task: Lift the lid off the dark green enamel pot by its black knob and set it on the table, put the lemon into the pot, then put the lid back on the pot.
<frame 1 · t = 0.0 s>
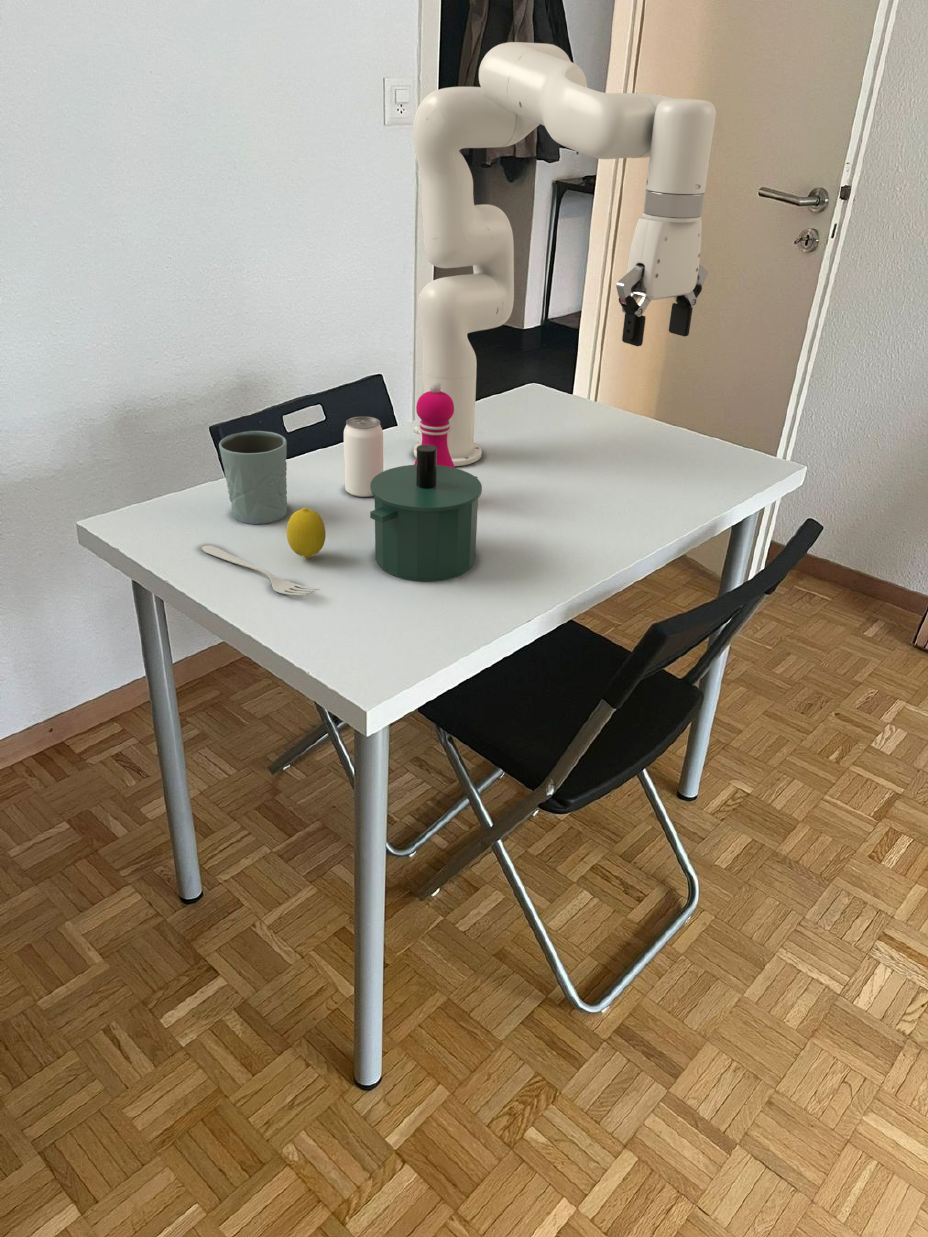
hand: (655, 338, 135), 31 cm above the table, tool pointing down, fingers open, 9 cm apart
pepper mill: (433, 501, 163), on the table
grey-green cup: (258, 514, 156), on the table
pot: (425, 558, 144), on the table
fork: (256, 574, 138), on the table
can: (364, 491, 165), on the table
lid: (426, 488, 139), point 11 cm above the table, touching pot
lemon: (307, 559, 143), on the table
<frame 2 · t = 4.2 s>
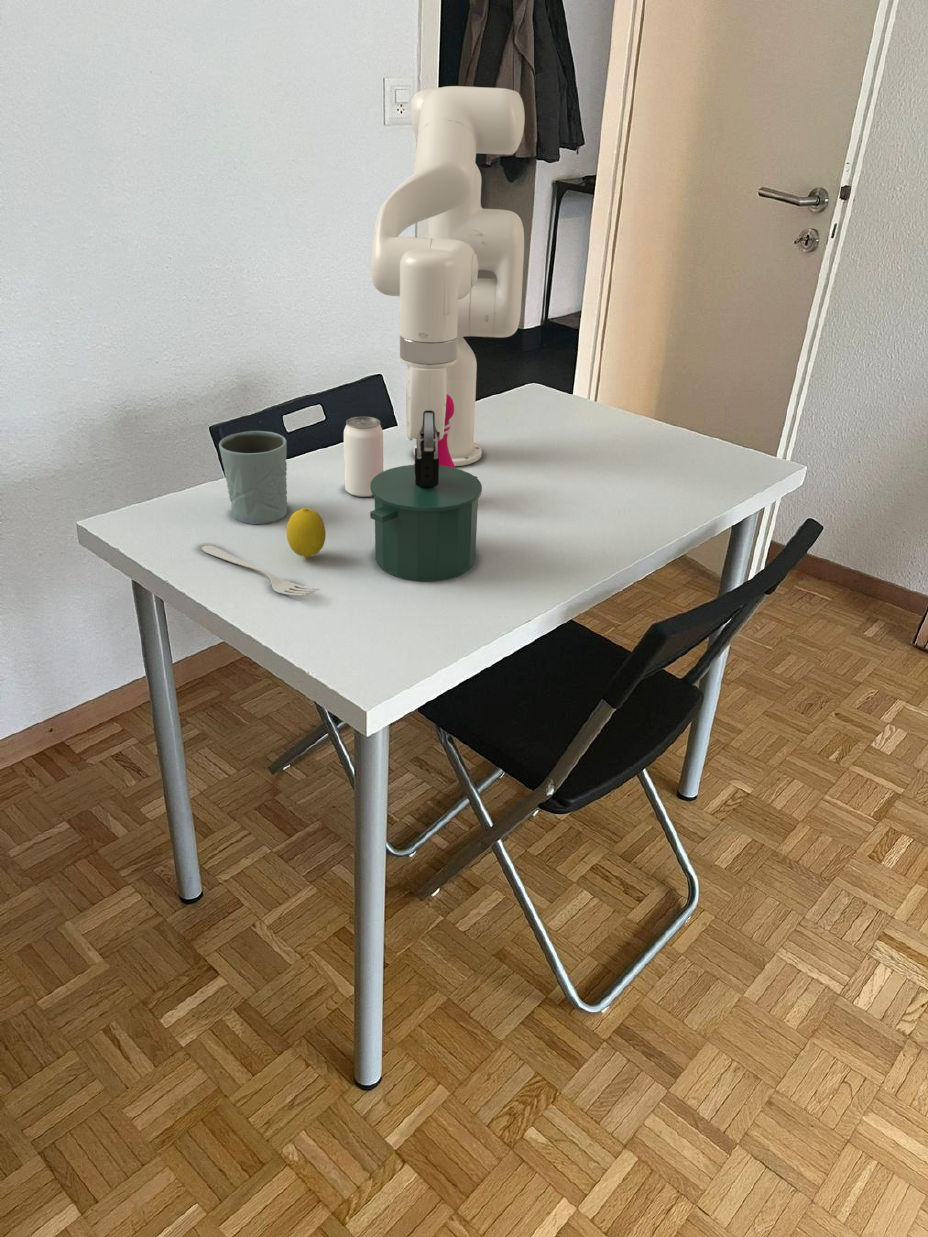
hand: (426, 478, 138), 13 cm above the table, tool pointing down, fingers closed on lid, 2 cm apart
lid: (426, 488, 139), point 11 cm above the table, touching gripper, pot
everything else where it was.
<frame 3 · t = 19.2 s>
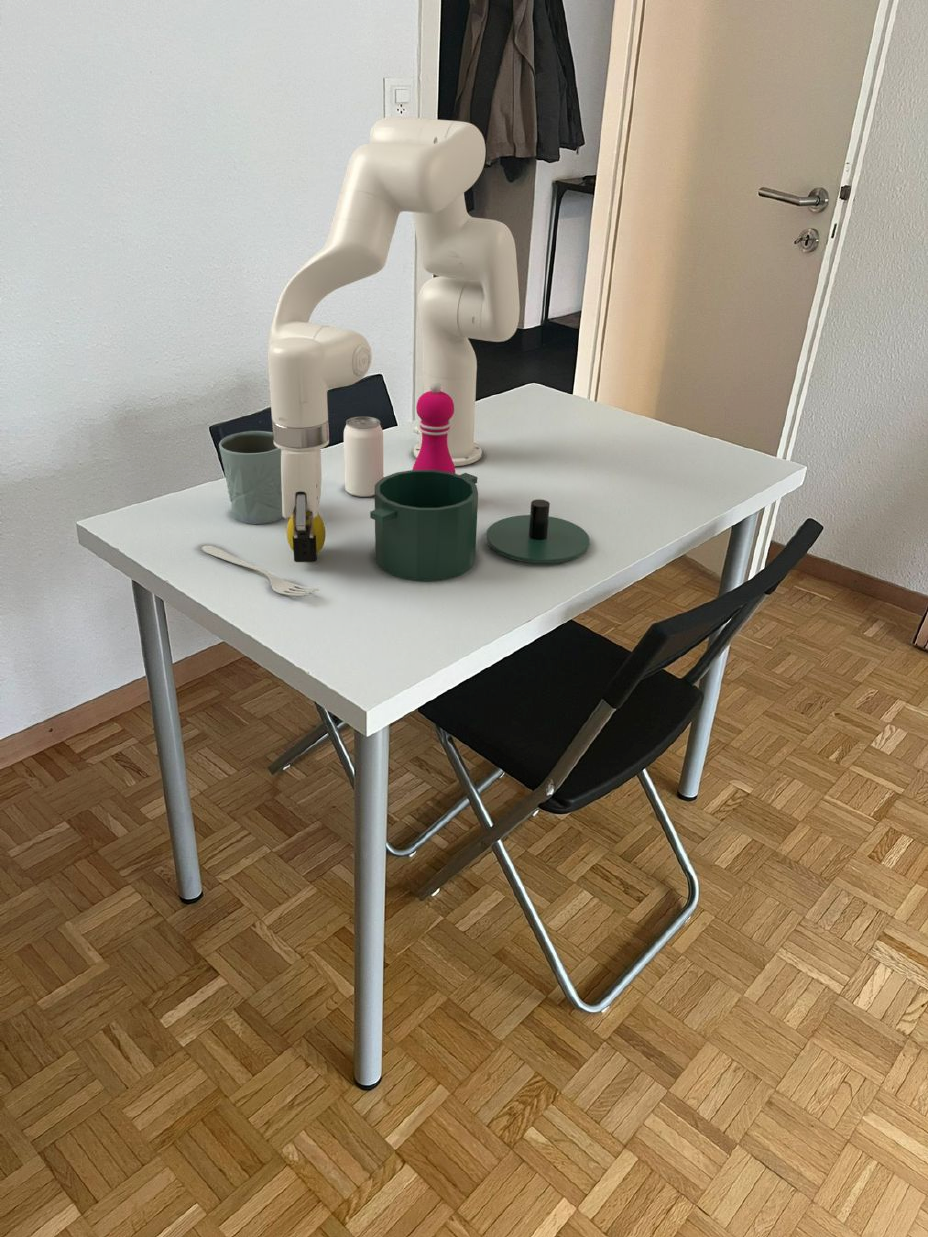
hand: (307, 550, 142), 1 cm above the table, tool pointing down, fingers closed on lemon, 5 cm apart
lid: (537, 539, 149), point 1 cm above the table
lemon: (307, 559, 143), on the table, touching gripper
everything else where it was.
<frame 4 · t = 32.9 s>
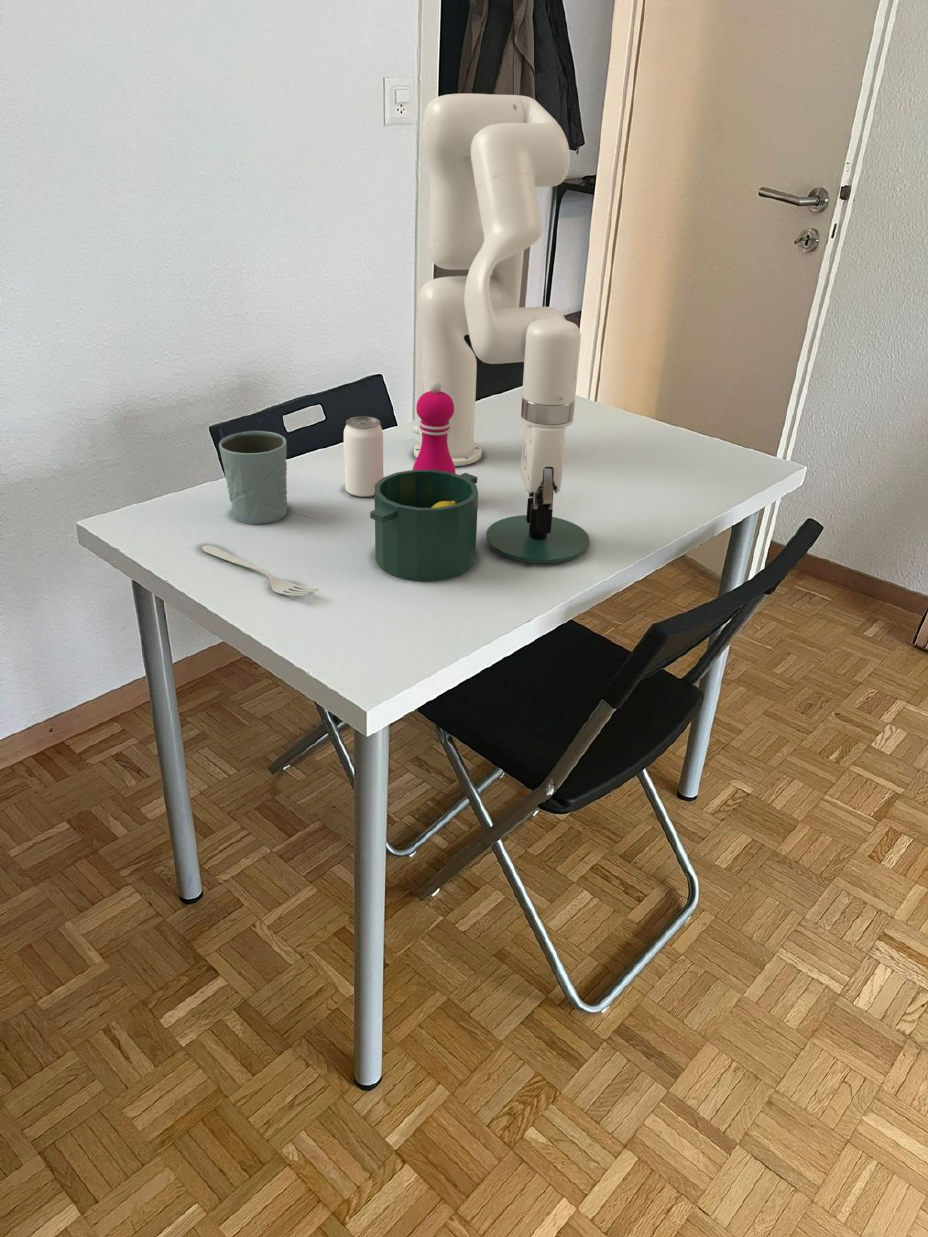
hand: (538, 526, 148), 3 cm above the table, tool pointing down, fingers closed on lid, 2 cm apart
lid: (537, 539, 149), point 1 cm above the table, touching gripper
lemon: (426, 549, 144), point 1 cm above the table, touching pot
everything else where it was.
when the fingers open (13 cm above the table, at t = 40.6 s): lid stays where it is, resting on pot.
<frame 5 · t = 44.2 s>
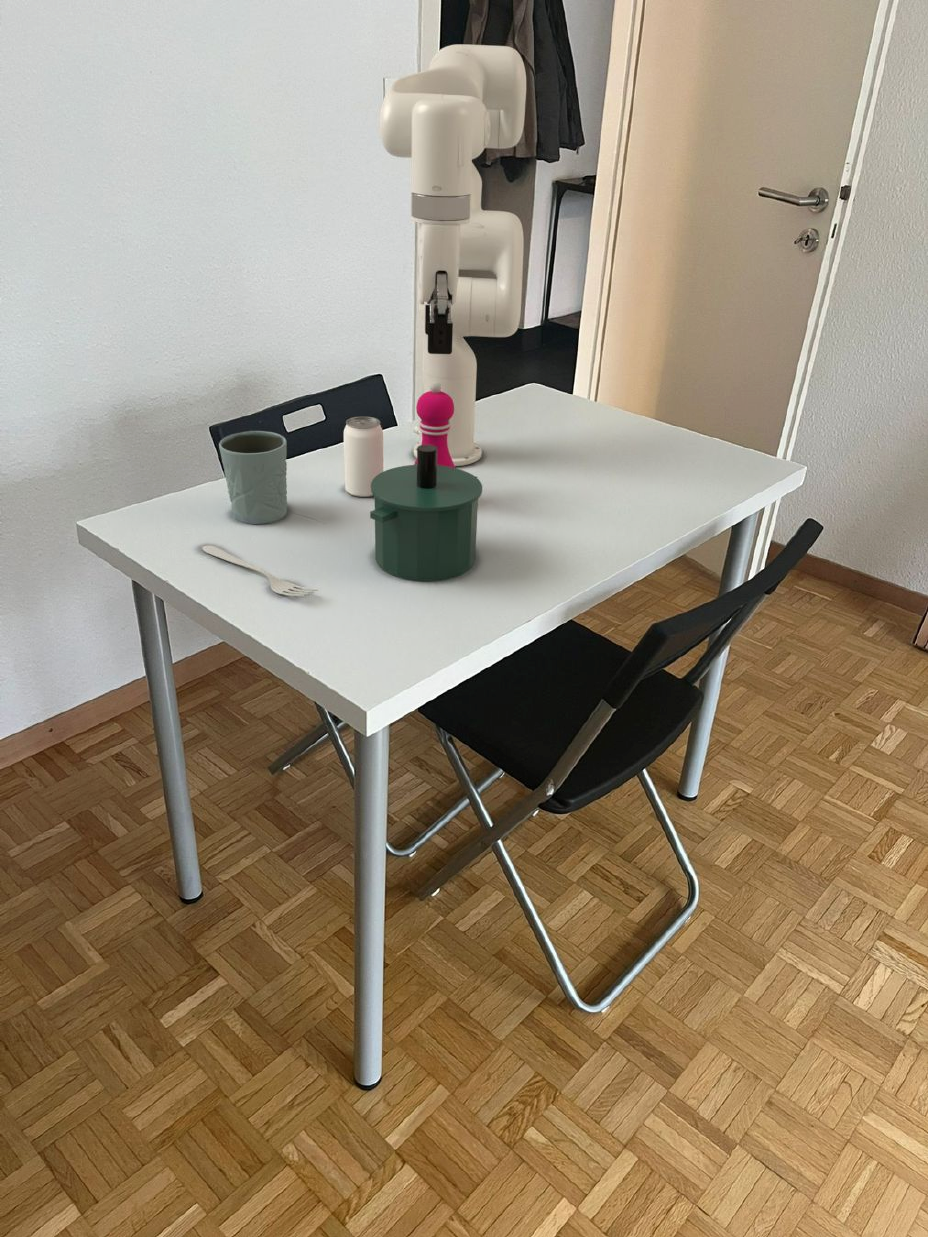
hand: (438, 343, 133), 30 cm above the table, tool pointing down, fingers open, 9 cm apart
lid: (426, 488, 139), point 11 cm above the table, touching pot
everything else where it was.
at the end: lemon inside the target area in the pot (0.3 cm from its centre), point 1.3 cm above the pot's base; lid 0.0 cm off-centre on the pot, point 11.0 cm above the pot's base; lid tilted 0° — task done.
